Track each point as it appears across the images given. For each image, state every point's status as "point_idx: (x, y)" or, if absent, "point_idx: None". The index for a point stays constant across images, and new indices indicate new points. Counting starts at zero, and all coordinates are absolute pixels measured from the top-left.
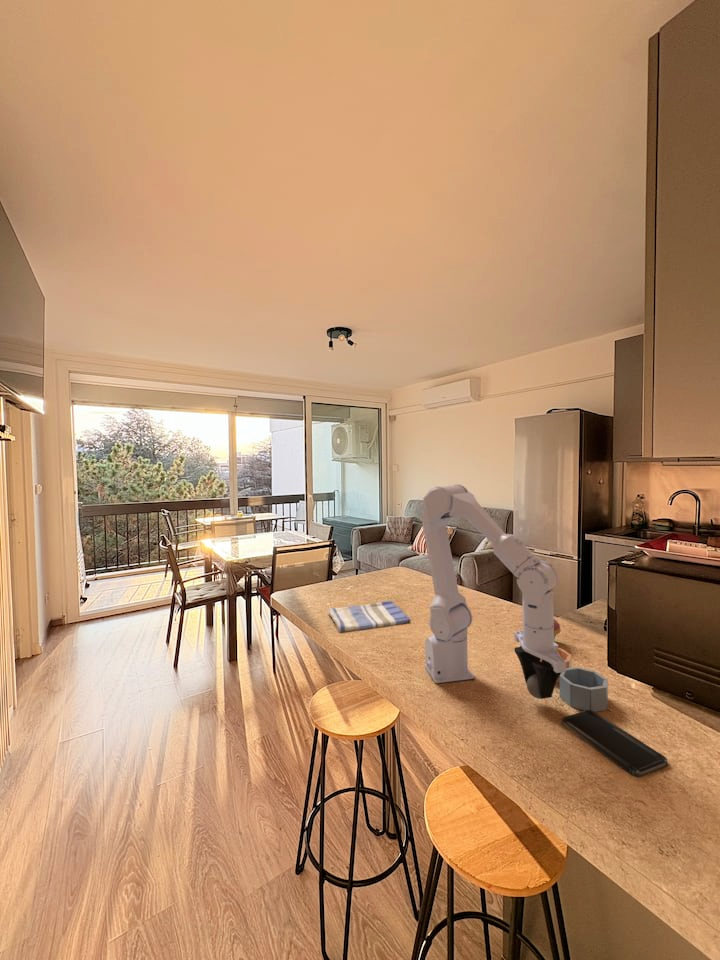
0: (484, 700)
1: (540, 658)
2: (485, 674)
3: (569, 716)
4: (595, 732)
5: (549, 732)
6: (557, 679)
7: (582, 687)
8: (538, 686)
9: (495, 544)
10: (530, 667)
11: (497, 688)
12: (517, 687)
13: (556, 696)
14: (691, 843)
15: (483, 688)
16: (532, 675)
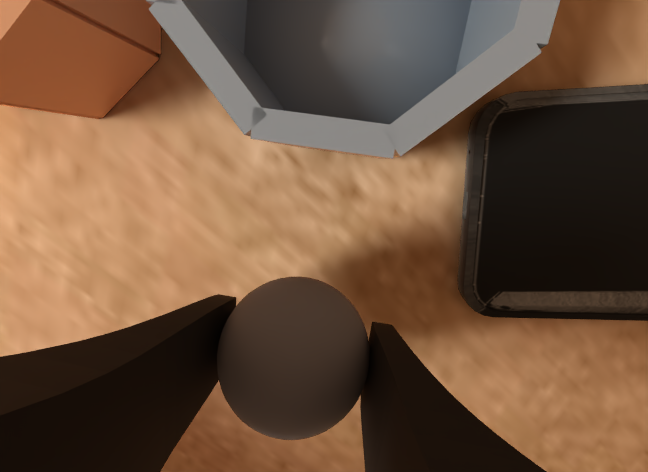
0: (214, 456)
1: (95, 381)
2: (29, 335)
3: (472, 260)
4: (631, 241)
5: (489, 392)
6: (147, 30)
7: (479, 93)
8: (363, 446)
9: None
10: (163, 416)
11: None
12: (157, 280)
13: (278, 157)
14: None
15: None
16: (241, 415)
